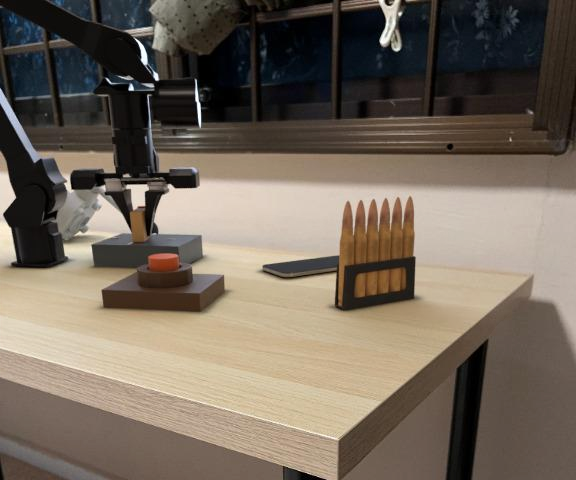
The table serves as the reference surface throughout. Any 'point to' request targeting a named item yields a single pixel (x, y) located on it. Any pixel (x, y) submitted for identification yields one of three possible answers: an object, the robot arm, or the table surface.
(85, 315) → the table surface
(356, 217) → the ammunition clip
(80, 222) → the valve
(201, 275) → the button box
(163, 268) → the button
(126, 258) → the panel
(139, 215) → the block
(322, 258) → the smartphone
